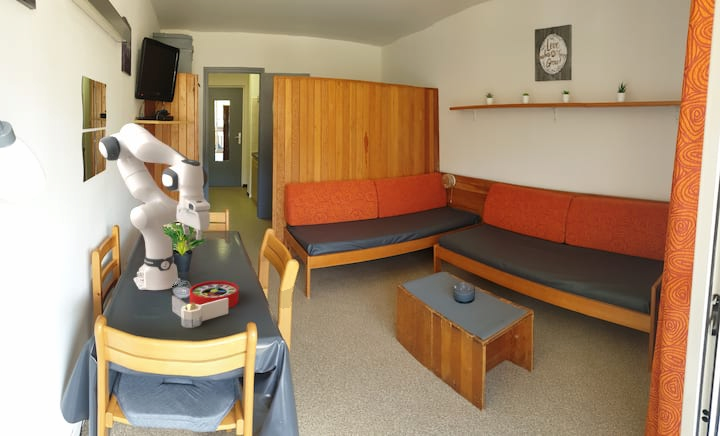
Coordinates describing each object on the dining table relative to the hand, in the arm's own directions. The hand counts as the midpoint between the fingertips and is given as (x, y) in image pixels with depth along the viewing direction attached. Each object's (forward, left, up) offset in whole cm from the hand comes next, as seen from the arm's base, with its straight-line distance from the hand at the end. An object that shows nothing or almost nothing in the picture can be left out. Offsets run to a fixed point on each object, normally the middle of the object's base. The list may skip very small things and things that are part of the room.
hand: (192, 237), depth 177 cm
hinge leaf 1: (+4, -6, -31) cm, 32 cm away
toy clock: (-4, +11, -32) cm, 34 cm away
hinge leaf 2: (+10, 0, -31) cm, 33 cm away
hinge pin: (+10, -6, -31) cm, 33 cm away
